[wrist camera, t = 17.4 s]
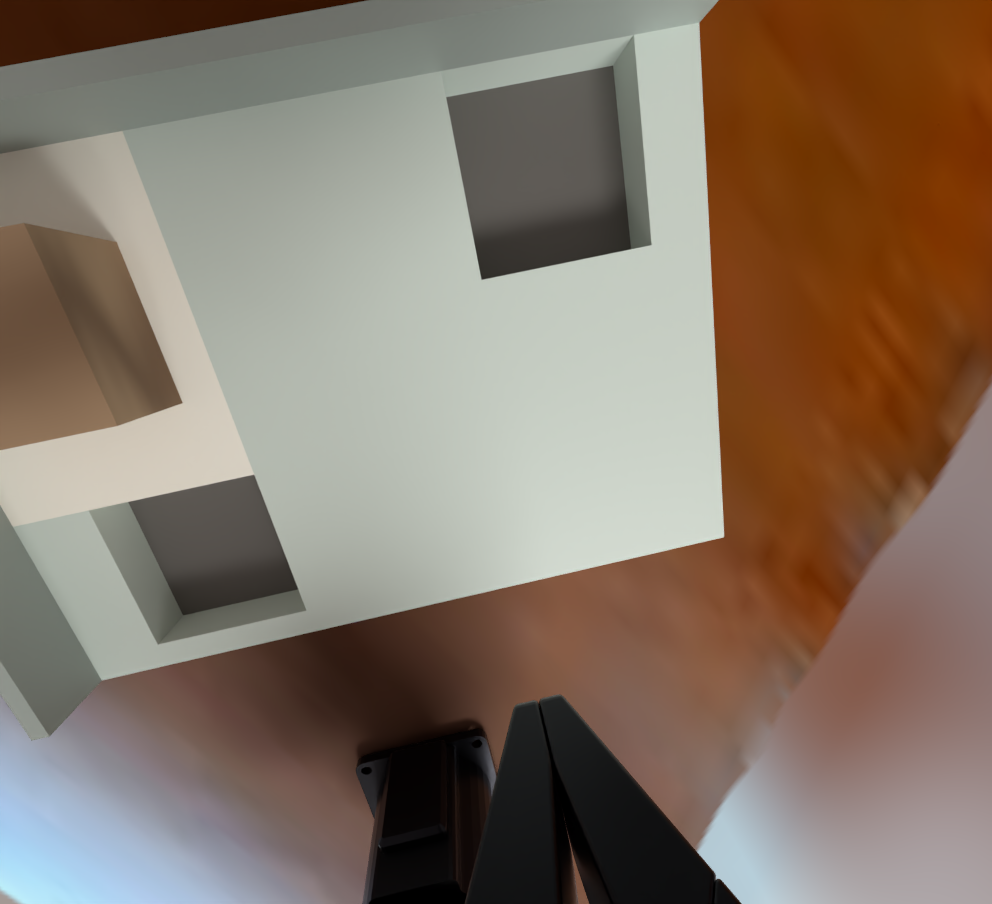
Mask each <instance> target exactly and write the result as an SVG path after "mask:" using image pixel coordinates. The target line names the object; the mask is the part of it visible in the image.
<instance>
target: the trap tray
mask: <svg viewBox="0 0 992 904" xmlns="http://www.w3.org/2000/svg"><path fill="white" fill-rule="evenodd" d="M717 2H718V0H368V1H362V2H357V3H351V4H346V5H340V6H335V7H329V8H324V9H318V10H313V11H307V12H302V13H296V14H290V15H285V16H279V17H274V18H268V19H263V20H257V21H252V22H246V23H241V24H235V25H230V26H224V27H219V28H213V29H208V30H202V31H196V32H191V33H185V34H180V35H174V36H169V37H163V38H158V39H152V40H147V41H141V42H136V43H130V44H125V45H119V46H114V47H108V48H103V49H97V50H91V51H86V52H80V53H75V54H69V55H64V56H58V57H53V58H47V59H42V60H36V61H31V62H25V63H20V64H14V65H9V66H3V67H0V227H5V226H10V225H15V224H21V223H27V224H31V225H36V226H41V227H46V228H51V229H56V230H61V231H65V232H70V233H75V234H80V235H85V236H90V237H95V238H99V239H104V240H109V241H114V242H117V244H118V247H119V249H120V251H121V254H122V256H123V259H124V261H125V264H126V266H127V268H128V271H129V273H130V276H131V278H132V281H133V283H134V286H135V288H136V290H137V293H138V295H139V298H140V300H141V303H142V305H143V307H144V310H145V312H146V315H147V317H148V320H149V322H150V325H151V327H152V329H153V332H154V334H155V337H156V339H157V342H158V344H159V346H160V349H161V351H162V354H163V356H164V359H165V361H166V363H167V366H168V368H169V371H170V373H171V376H172V378H173V381H174V383H175V385H176V388H177V390H178V393H179V395H180V398H181V400H182V402H183V403H182V404H179V405H176V406H173V407H170V408H167V409H165V410H162V411H159V412H156V413H153V414H150V415H147V416H145V417H142V418H139V419H136V420H133V421H130V422H128V423H125V424H122V425H119V426H115V427H110V428H105V429H101V430H96V431H91V432H86V433H81V434H77V435H72V436H67V437H62V438H57V439H52V440H48V441H43V442H38V443H33V444H28V445H23V446H19V447H14V448H9V449H4V450H0V694H1V696H2V697H3V699H4V700H5V702H6V703H7V705H8V706H9V708H10V709H11V711H12V712H13V714H14V715H15V717H16V718H17V720H18V721H19V723H20V724H21V726H22V727H23V729H24V730H25V732H26V733H27V735H28V736H29V738H30V739H31V740H36V739H41V738H45V737H49V736H50V735H51V734H52V733H53V732H54V731H55V730H56V729H57V728H58V727H59V726H60V725H61V724H62V723H63V721H64V720H65V719H66V718H67V717H68V716H69V715H70V714H71V713H72V712H73V711H74V710H75V709H76V708H77V706H78V705H79V704H80V703H81V702H82V701H83V700H84V699H85V698H86V697H87V696H88V695H89V694H90V693H91V691H92V690H93V689H94V688H95V687H96V686H97V685H98V684H99V683H100V682H101V681H102V680H106V679H110V678H115V677H119V676H123V675H128V674H132V673H136V672H141V671H145V670H149V669H154V668H158V667H162V666H167V665H171V664H176V663H180V662H184V661H189V660H193V659H197V658H202V657H206V656H210V655H215V654H219V653H223V652H228V651H232V650H236V649H241V648H245V647H249V646H254V645H258V644H262V643H267V642H271V641H275V640H280V639H284V638H288V637H293V636H297V635H301V634H306V633H310V632H314V631H319V630H323V629H327V628H332V627H336V626H340V625H345V624H349V623H353V622H358V621H362V620H366V619H371V618H375V617H380V616H384V615H388V614H393V613H397V612H401V611H406V610H410V609H414V608H419V607H423V606H427V605H432V604H436V603H440V602H445V601H449V600H453V599H458V598H462V597H466V596H471V595H475V594H479V593H484V592H488V591H492V590H497V589H501V588H505V587H510V586H514V585H518V584H523V583H527V582H531V581H536V580H540V579H544V578H549V577H553V576H557V575H562V574H566V573H570V572H575V571H579V570H583V569H588V568H592V567H597V566H601V565H605V564H610V563H614V562H618V561H623V560H627V559H631V558H636V557H640V556H644V555H649V554H653V553H657V552H662V551H666V550H670V549H675V548H679V547H683V546H688V545H692V544H696V543H701V542H705V541H709V540H714V539H718V538H722V537H724V524H723V504H722V483H721V463H720V442H719V422H718V401H717V381H716V360H715V340H714V319H713V299H712V278H711V258H710V237H709V217H708V196H707V176H706V155H705V135H704V114H703V94H702V73H701V53H700V32H699V22H700V21H701V20H702V19H703V18H704V16H705V15H706V14H707V13H708V12H709V11H710V10H711V8H712V7H713V6H714V5H715V4H716V3H717Z"/></svg>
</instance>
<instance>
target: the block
mask: <svg viewBox="0 0 992 904" xmlns="http://www.w3.org/2000/svg"><path fill="white" fill-rule="evenodd" d="M182 403H183V402H182V400H181V398H180V395H179V393H178V390H177V388H176V385H175V383H174V381H173V378H172V376H171V373H170V371H169V368H168V366H167V363H166V361H165V359H164V356H163V354H162V351H161V349H160V346H159V344H158V342H157V339H156V337H155V334H154V332H153V329H152V327H151V325H150V322H149V320H148V317H147V315H146V312H145V310H144V307H143V305H142V303H141V300H140V298H139V295H138V293H137V290H136V288H135V286H134V283H133V281H132V278H131V276H130V273H129V271H128V268H127V266H126V264H125V261H124V259H123V256H122V254H121V251H120V249H119V247H118V244H117V242H114V241H109V240H104V239H99V238H95V237H90V236H85V235H80V234H75V233H70V232H65V231H61V230H56V229H51V228H46V227H41V226H36V225H31V224H27V223H21V224H15V225H10V226H5V227H0V450H4V449H9V448H14V447H19V446H23V445H28V444H33V443H38V442H43V441H48V440H52V439H57V438H62V437H67V436H72V435H77V434H81V433H86V432H91V431H96V430H101V429H105V428H110V427H115V426H119V425H122V424H125V423H128V422H130V421H133V420H136V419H139V418H142V417H145V416H147V415H150V414H153V413H156V412H159V411H162V410H165V409H167V408H170V407H173V406H176V405H179V404H182Z"/></svg>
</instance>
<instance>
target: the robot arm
mask: <svg viewBox="0 0 992 904" xmlns="http://www.w3.org/2000/svg"><path fill="white" fill-rule="evenodd" d="M539 706H540V707H539ZM475 740H478V741H475ZM356 774H357V776H358V779H359V781H360V784H361V786H362V789H363V791H364V794H365V796H366V799H367V801H368V804H369V806H370V809H371V811H372V814H373V817H374V826H373V833H372V840H371V847H370V854H369V861H368V868H367V875H366V882H365V889H364V896H363V903H362V904H578V897H577V889H576V881H575V873H574V866H573V860H572V853H571V848H570V843H571V847H572V851H573V855H574V858H575V861H576V864H577V868H578V871H579V874H580V877H581V880H582V883H583V886H584V889H585V892H586V895H587V898H588V901H589V904H741V903H740V902H739V900H738V899H737V898H736V897H735V896H734V894H733V893H732V892H731V891H730V890H729V889H728V887H727V886H726V885H725V884H724V883H723V882H722V881H721V880H720V879H717V880H716V875H715V873H714V871H713V870H712V869H711V868H710V867H709V866H708V864H707V863H706V862H705V861H704V860H703V859H702V857H701V856H700V855H699V854H698V853H697V852H696V850H695V849H694V848H693V847H692V846H691V845H690V843H689V842H688V841H687V840H686V839H685V838H684V836H683V835H682V834H681V833H680V832H679V831H678V829H677V828H676V827H675V826H674V825H673V824H672V822H671V821H670V820H669V819H668V818H667V817H666V815H665V814H664V813H663V812H662V811H661V810H660V808H659V807H658V806H657V805H656V804H655V803H654V801H653V800H652V799H651V798H650V797H649V796H648V794H647V793H646V792H645V791H644V790H643V789H642V787H641V786H640V785H639V784H638V783H637V782H636V780H635V779H634V778H633V777H632V776H631V775H630V773H629V772H628V771H627V770H626V769H625V768H624V766H623V765H622V764H621V763H620V762H619V761H618V759H617V758H616V757H615V756H614V755H613V754H612V752H611V751H610V750H609V749H608V748H607V747H606V745H605V744H604V743H603V742H602V741H601V740H600V738H599V737H598V736H597V735H596V734H595V733H594V731H593V730H592V729H591V728H590V727H589V726H588V724H587V723H586V722H585V721H584V720H583V719H582V717H581V716H580V715H579V714H578V713H577V712H576V710H575V709H574V708H573V707H572V706H571V705H570V703H569V702H568V701H567V700H566V699H565V698H564V697H563V696H562V695H554V696H550V697H546V698H542V699H540V701H539V704H538V702H537V701H535V700H533V701H529V702H525V703H521V704H517V705H516V706H515V707H514V709H513V713H512V717H511V721H510V725H509V729H508V733H507V737H506V741H505V745H504V749H503V753H502V757H501V761H500V765H499V769H498V773H496V769H495V765H494V761H493V758H492V754H491V750H490V747H489V743H488V739H487V735H486V733H485V732H484V731H483V730H480V729H474V730H470V731H465V732H461V733H457V734H453V735H449V736H445V737H441V738H436V739H432V740H428V741H424V742H420V743H416V744H412V745H407V746H403V747H399V748H395V749H391V750H387V751H383V752H378V753H374V754H370V755H366V756H363V757H361V758H360V759H359V760H358V763H357V768H356ZM562 809H563V810H562ZM564 818H565V819H564ZM565 823H566V824H565ZM566 827H567V828H566ZM567 831H568V833H567ZM568 836H569V838H568ZM569 840H570V843H569Z"/></svg>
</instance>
